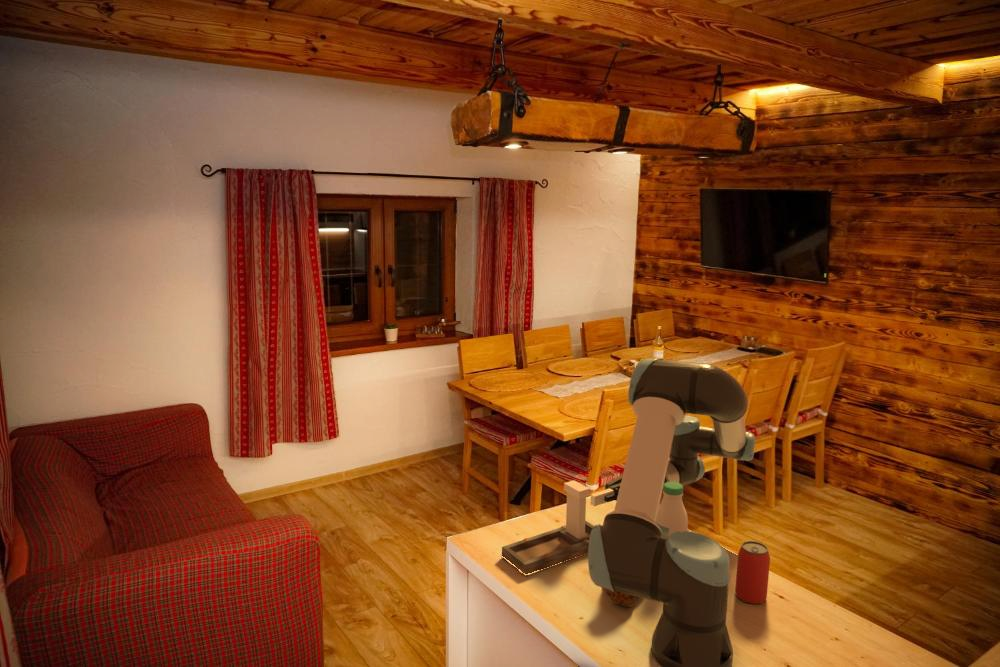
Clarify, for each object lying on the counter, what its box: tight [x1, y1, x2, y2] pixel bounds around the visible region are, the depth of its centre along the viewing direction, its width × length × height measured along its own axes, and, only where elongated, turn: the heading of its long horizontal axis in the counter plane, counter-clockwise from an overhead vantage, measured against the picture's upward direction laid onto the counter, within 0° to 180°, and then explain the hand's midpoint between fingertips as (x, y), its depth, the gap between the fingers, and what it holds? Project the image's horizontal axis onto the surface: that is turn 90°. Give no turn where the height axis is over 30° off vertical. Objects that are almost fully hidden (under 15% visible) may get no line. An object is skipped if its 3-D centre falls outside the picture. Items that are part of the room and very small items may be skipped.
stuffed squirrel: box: [602, 588, 638, 608], centre depth 151 cm, size 10×14×13 cm
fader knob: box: [559, 480, 590, 545], centre depth 172 cm, size 5×7×14 cm
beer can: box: [734, 540, 771, 605], centre depth 151 cm, size 7×7×12 cm
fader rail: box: [501, 520, 595, 574], centre depth 170 cm, size 26×10×3 cm, turn 124°
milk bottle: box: [656, 482, 689, 539], centre depth 164 cm, size 8×8×20 cm
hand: (592, 500), depth 175 cm, fingers closed
